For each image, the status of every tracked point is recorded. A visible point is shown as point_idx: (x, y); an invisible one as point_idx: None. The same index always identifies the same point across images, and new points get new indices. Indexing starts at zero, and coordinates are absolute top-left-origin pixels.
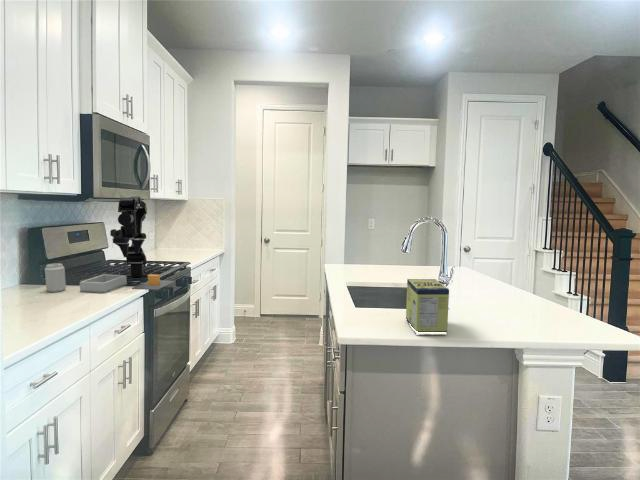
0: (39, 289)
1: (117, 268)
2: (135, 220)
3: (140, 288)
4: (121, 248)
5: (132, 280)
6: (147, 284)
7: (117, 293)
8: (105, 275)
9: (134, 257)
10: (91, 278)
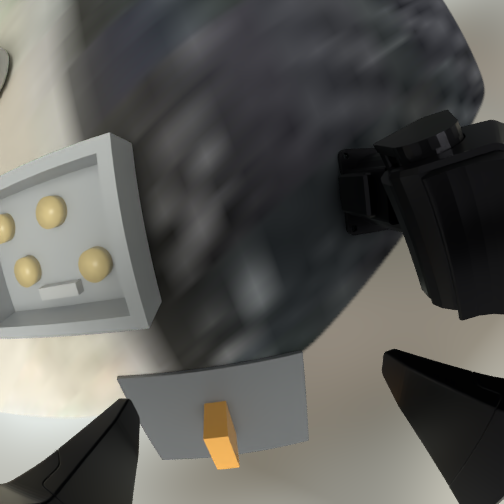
0: (4, 20)
1: (439, 5)
2: None
3: None
4: (44, 484)
5: (269, 248)
6: (204, 400)
7: (44, 367)
8: (99, 165)
9: (417, 247)
10: (5, 178)
